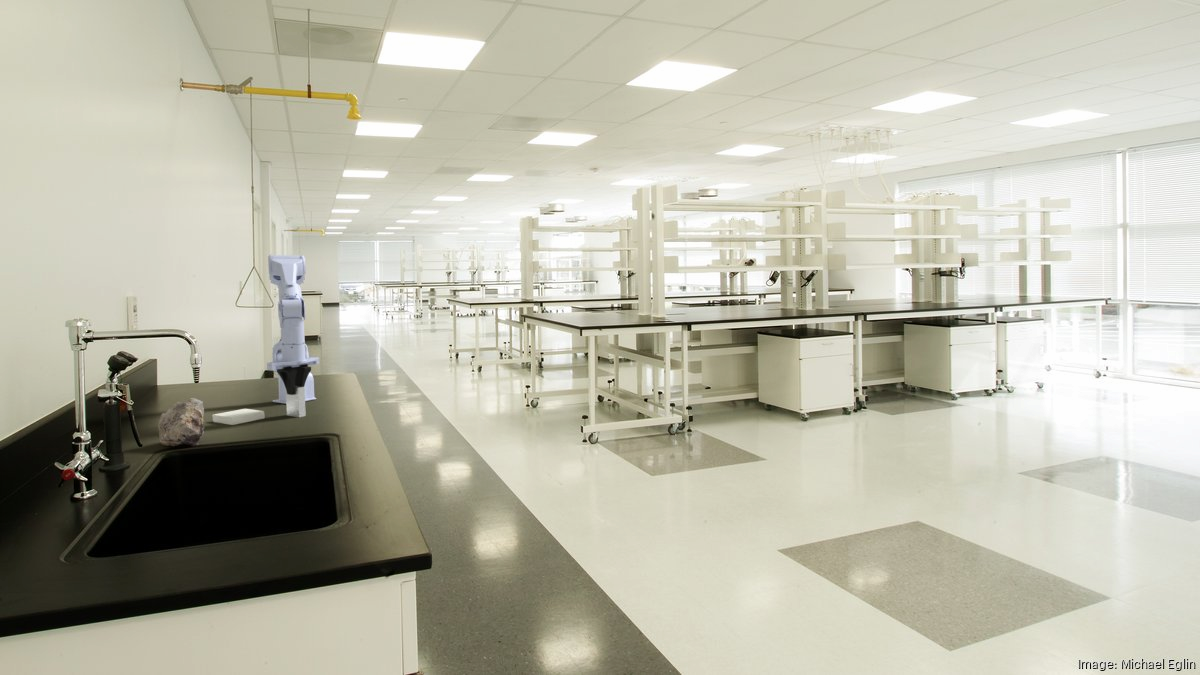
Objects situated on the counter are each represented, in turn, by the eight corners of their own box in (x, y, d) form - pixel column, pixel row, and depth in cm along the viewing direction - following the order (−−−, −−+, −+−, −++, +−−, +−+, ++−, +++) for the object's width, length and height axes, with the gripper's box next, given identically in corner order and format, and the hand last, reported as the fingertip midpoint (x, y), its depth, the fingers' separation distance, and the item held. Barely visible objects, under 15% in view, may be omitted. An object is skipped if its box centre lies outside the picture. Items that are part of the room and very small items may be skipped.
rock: (155, 460, 143) (159, 431, 137) (156, 419, 150) (160, 390, 144) (203, 458, 148) (209, 430, 143) (202, 419, 155) (208, 391, 150)
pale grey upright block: (293, 414, 178) (292, 385, 177) (305, 415, 176) (304, 386, 175) (286, 415, 176) (285, 386, 176) (299, 417, 174) (298, 387, 173)
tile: (245, 408, 176) (212, 414, 168) (264, 411, 173) (231, 417, 165) (245, 416, 176) (213, 423, 168) (264, 419, 173) (232, 426, 165)
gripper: (278, 347, 166) (281, 399, 167) (325, 342, 179) (327, 390, 180) (261, 345, 169) (263, 397, 170) (308, 341, 182) (310, 388, 183)
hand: (295, 393), depth 175 cm, fingers closed on pale grey upright block, 2 cm apart
